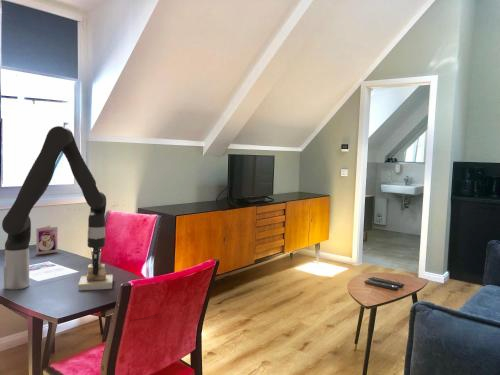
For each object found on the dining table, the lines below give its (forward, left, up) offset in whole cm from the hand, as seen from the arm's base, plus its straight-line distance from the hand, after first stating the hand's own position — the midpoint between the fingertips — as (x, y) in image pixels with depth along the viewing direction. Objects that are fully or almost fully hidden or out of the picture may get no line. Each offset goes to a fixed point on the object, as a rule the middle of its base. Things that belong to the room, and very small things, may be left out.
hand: (96, 272), depth 187 cm
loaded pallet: (0, 0, -3) cm, 3 cm away
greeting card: (-32, +66, -6) cm, 74 cm away
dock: (0, 0, -6) cm, 6 cm away
